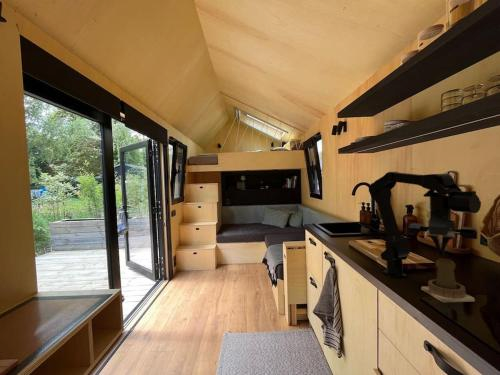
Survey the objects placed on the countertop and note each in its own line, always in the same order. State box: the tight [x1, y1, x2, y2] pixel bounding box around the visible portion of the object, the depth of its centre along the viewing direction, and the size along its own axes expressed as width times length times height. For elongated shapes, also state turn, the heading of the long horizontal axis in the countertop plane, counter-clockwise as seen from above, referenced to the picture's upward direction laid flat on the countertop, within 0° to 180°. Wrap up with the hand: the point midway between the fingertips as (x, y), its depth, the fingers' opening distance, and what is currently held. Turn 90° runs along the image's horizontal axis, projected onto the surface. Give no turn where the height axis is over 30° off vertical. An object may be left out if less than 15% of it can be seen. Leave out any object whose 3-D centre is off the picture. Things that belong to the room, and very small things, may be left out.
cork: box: [435, 258, 457, 289], centre depth 84 cm, size 6×6×11 cm
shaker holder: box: [420, 278, 475, 303], centre depth 84 cm, size 10×10×4 cm
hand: (441, 255), depth 86 cm, fingers closed
